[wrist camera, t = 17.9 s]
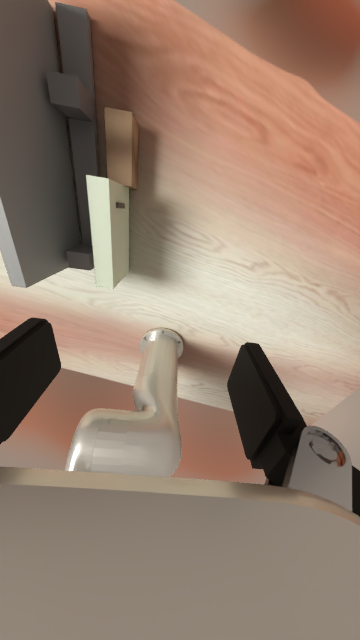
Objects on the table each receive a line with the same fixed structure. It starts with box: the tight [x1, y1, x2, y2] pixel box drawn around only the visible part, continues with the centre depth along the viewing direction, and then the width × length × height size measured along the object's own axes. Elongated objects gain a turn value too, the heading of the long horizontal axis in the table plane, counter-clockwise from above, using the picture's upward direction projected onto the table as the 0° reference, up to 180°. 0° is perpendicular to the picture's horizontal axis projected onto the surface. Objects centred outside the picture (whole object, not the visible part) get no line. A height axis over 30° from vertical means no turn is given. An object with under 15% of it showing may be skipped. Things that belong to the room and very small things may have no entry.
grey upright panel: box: [0, 0, 100, 288], centre depth 26 cm, size 34×7×18 cm, turn 172°
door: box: [86, 175, 129, 289], centre depth 34 cm, size 16×3×12 cm, turn 172°
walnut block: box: [104, 107, 139, 189], centre depth 32 cm, size 9×4×5 cm, turn 172°
